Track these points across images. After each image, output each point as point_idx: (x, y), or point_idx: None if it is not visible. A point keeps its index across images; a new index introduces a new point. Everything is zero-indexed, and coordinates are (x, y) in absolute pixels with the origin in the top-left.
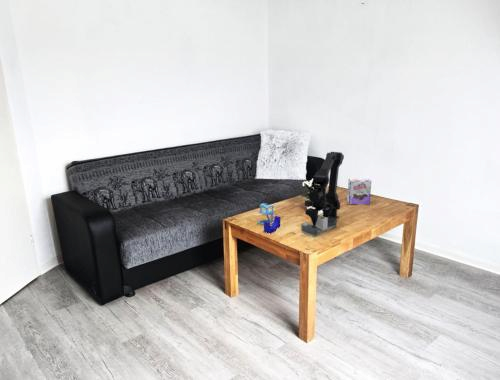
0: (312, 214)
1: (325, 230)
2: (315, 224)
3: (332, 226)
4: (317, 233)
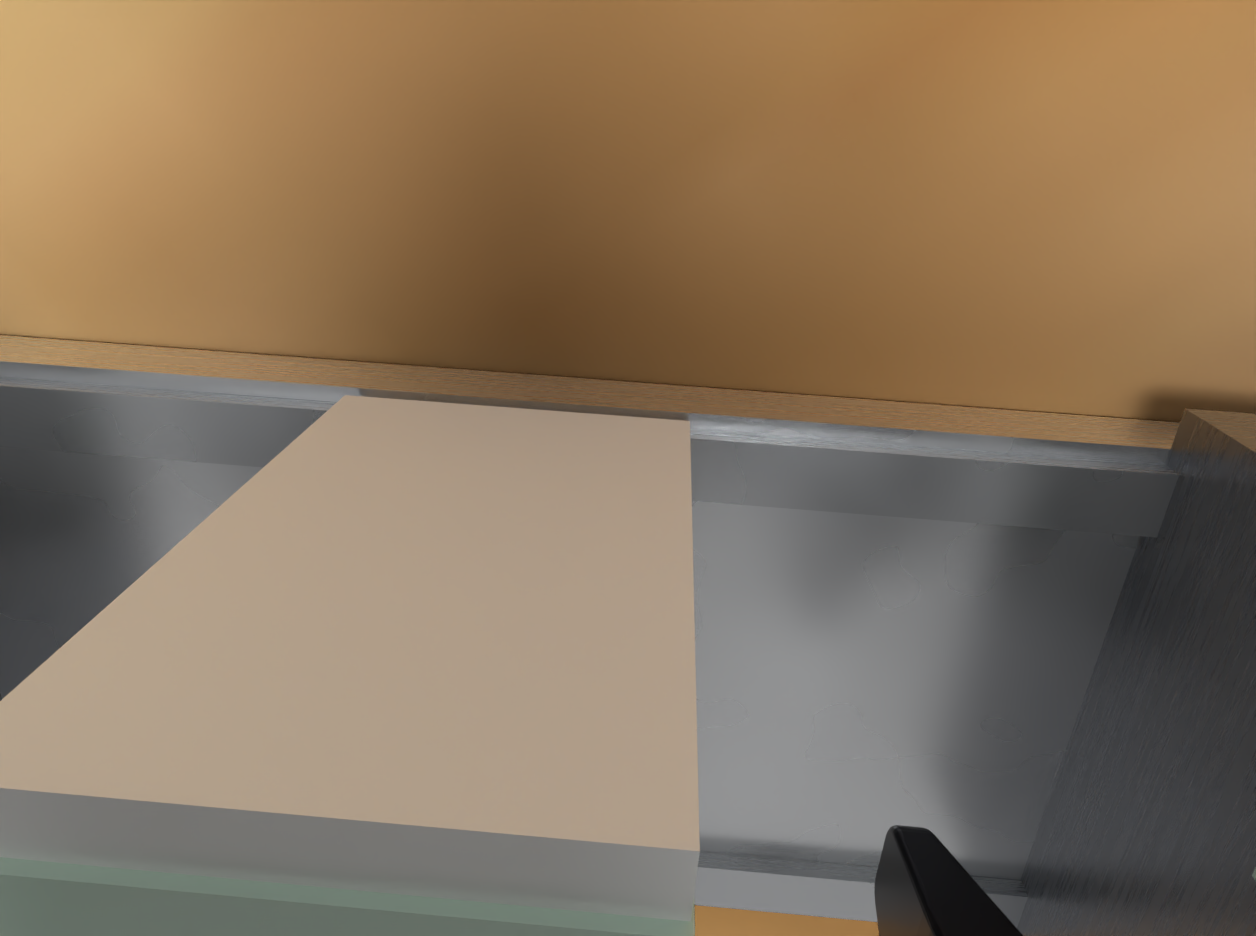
0: None
1: None
2: None
3: None
4: None
